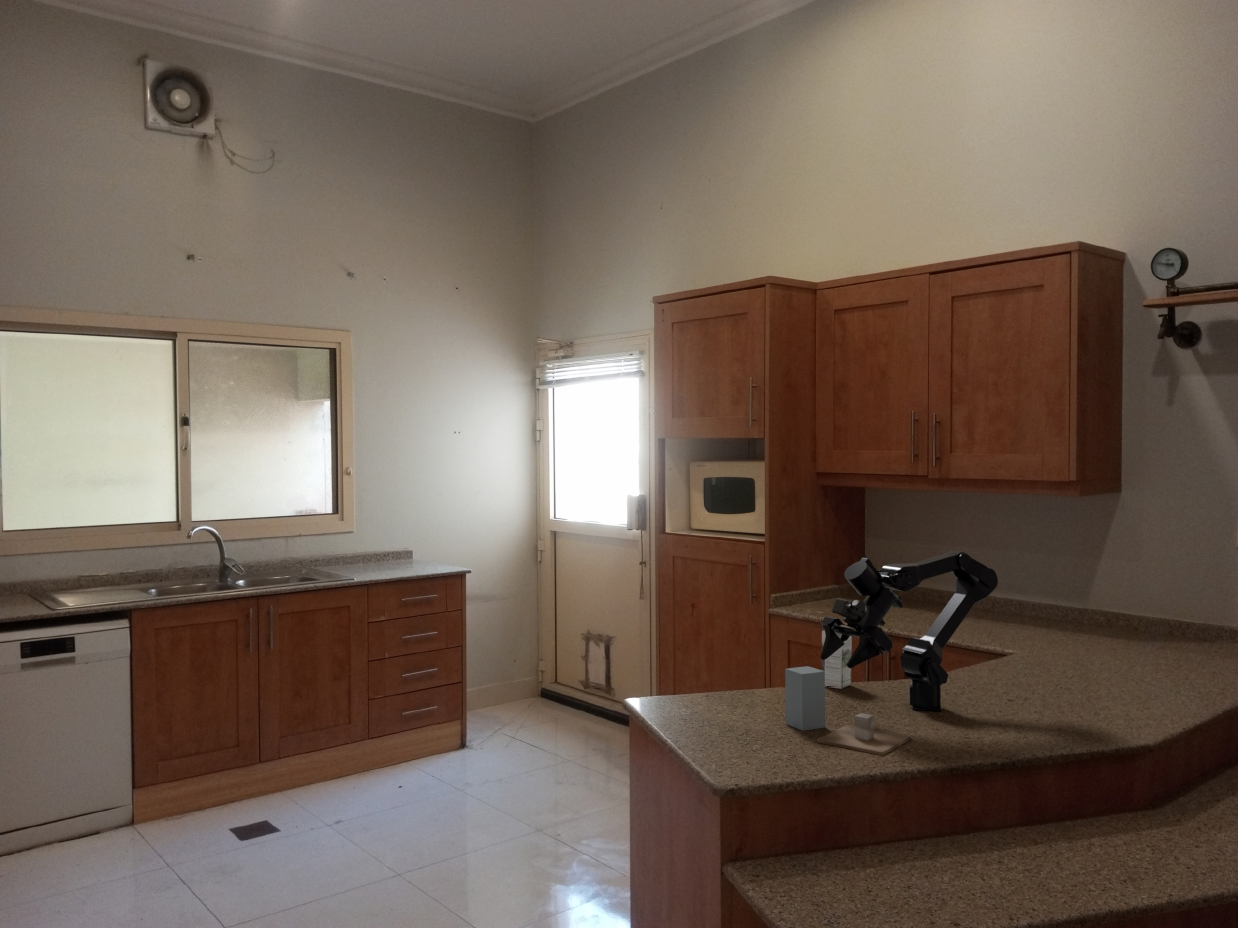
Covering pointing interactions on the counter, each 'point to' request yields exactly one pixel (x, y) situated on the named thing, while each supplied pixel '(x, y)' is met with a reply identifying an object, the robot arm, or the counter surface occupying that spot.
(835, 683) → the syrup box
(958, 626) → the robot arm
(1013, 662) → the counter surface
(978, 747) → the counter surface
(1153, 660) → the counter surface
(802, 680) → the tall slate pillar
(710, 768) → the counter surface
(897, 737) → the post base
